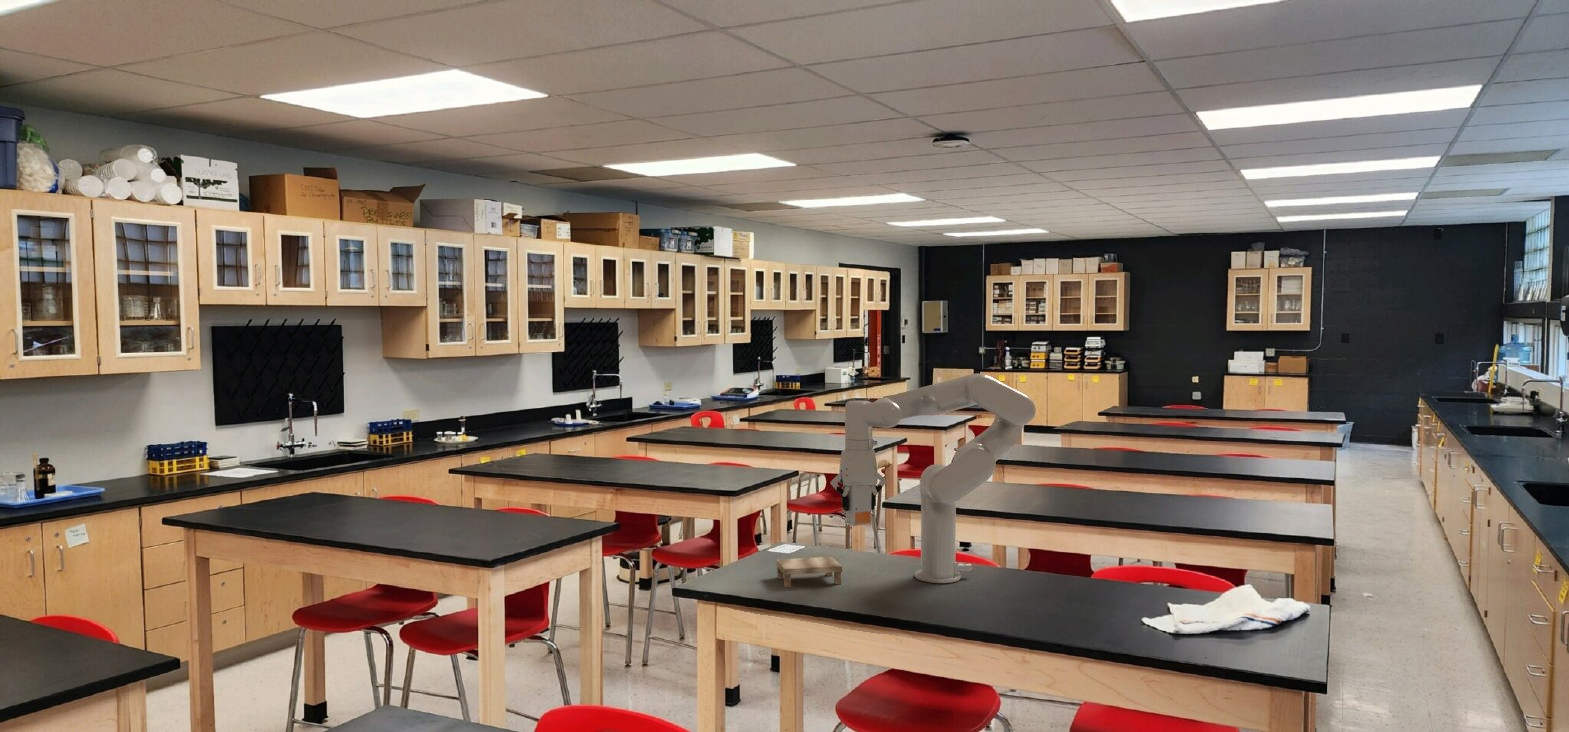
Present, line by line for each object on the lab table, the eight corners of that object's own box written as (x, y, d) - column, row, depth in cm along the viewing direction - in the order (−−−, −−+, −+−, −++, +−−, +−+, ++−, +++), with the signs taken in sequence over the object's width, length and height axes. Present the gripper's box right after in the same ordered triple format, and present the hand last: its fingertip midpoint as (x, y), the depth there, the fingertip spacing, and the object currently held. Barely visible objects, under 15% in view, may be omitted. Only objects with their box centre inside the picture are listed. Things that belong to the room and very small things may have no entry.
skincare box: (853, 526, 259) (853, 483, 258) (845, 523, 262) (845, 480, 262) (872, 524, 261) (872, 481, 261) (864, 521, 265) (864, 479, 265)
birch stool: (831, 574, 267) (831, 556, 267) (842, 584, 256) (842, 566, 256) (776, 577, 264) (776, 559, 263) (784, 587, 253) (784, 569, 253)
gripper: (884, 442, 267) (884, 505, 267) (824, 444, 263) (824, 508, 264) (893, 446, 259) (893, 510, 260) (832, 447, 256) (832, 513, 256)
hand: (858, 508), depth 262 cm, fingers closed on skincare box, 6 cm apart
